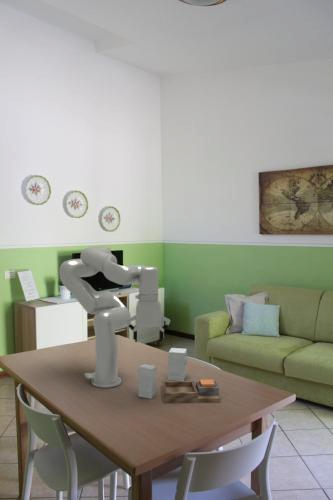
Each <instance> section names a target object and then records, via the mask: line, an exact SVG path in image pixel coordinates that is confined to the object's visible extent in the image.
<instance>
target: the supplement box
mask: <svg viewBox="0 0 333 500" xmlns="http://www.w3.org/2000/svg"><path fill="white" fill-rule="evenodd" d="M167 357H168V368H167V381H185V378H186V376H187V363H188V362H187V357H188V349H187V348H181V347H180V348H177V347H171V348H170V349H169V351H168V356H167Z"/></svg>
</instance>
